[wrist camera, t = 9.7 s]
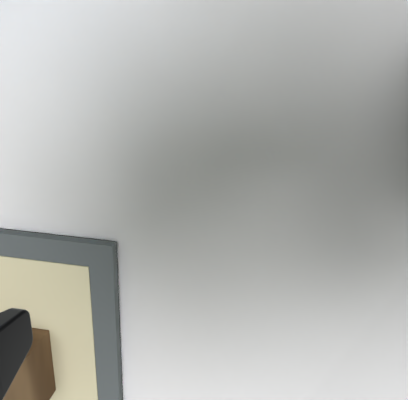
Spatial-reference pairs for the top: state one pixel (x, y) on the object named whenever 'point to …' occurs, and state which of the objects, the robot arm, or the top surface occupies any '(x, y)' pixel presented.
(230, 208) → the top surface
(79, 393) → the slate pad
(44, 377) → the walnut cube
